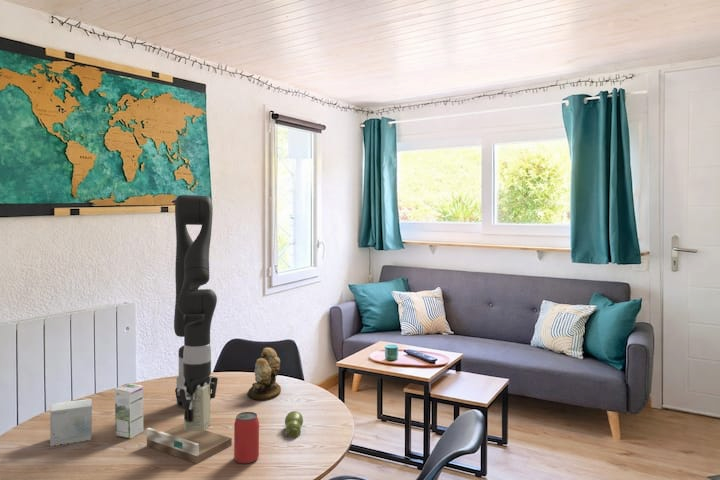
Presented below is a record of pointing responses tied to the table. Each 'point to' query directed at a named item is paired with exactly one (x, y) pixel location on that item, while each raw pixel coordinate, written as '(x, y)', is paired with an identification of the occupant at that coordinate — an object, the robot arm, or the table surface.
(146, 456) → the table surface
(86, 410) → the skincare box
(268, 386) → the brown lumpy upright piece
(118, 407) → the syrup box
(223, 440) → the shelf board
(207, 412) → the skincare box
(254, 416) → the beer can
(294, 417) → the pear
